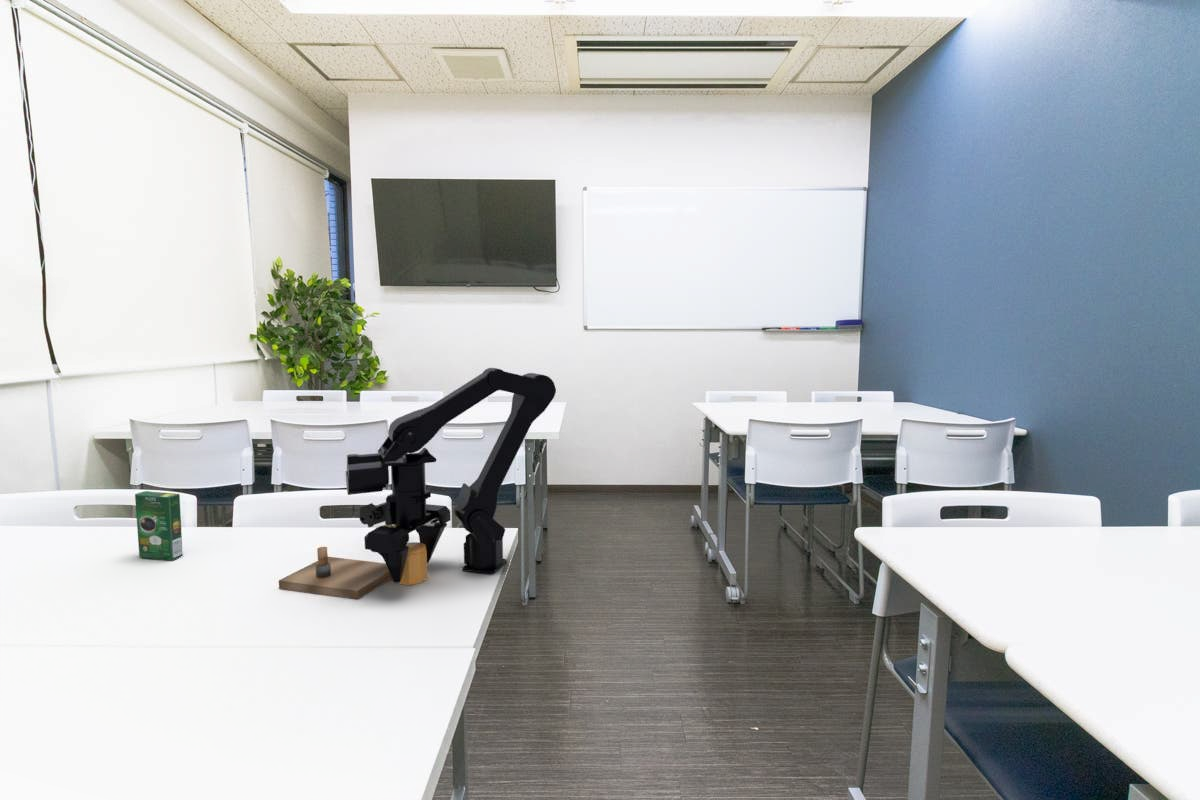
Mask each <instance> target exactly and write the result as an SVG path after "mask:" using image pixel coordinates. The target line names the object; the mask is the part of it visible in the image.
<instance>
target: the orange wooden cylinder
mask: <svg viewBox="0 0 1200 800" xmlns="http://www.w3.org/2000/svg"><path fill="white" fill-rule="evenodd" d="M406 546H409V549H408V554H407V558H406V562H405V566H404V571H403V575H402V578H401V581H400V582H399V583H398V584H399V585H405V586H411V585H412V586H413V585H417V584H423V582H425V581H426V580H428V564H427V550H426V545H425V544H423V543H420V541H419V542H417V541H416V542H414V541H413V542H407V544H406Z"/></svg>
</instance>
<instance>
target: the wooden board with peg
mask: <svg viewBox="0 0 1200 800" xmlns="http://www.w3.org/2000/svg"><path fill="white" fill-rule="evenodd" d="M316 551H317V561H315V562H313V563H311V564H309V565H307V566H305V567H302V568H301V569H299V570H296V571H294V572H292V573H291V574H289V575H287V576H285V577H283V578H281V579H279V580H278V588H279V590H287V591H293V592H300V593H309V594H315V595H321V596H329V597H337V598H343V599H344V598H345V599H353V600H359V599H361V598H362V597H364V596H366V595H367V594H369V593H370V592H372V591H373V590H375V589H376V588H378V587H380V586H381V585H382V584H384V583H386V582H387V581H388V580H390V579H392V576H391V574H390V572H389V569H388V567H387V565H386V563H385V562H379V561H377V562H376V561H368V560H359V559H354V558H353V559H351V558H342V557H336V556H335V557H334V556H328V547H327V546H320V547H318V548H317V550H316Z"/></svg>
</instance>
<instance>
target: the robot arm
mask: <svg viewBox="0 0 1200 800" xmlns="http://www.w3.org/2000/svg"><path fill="white" fill-rule="evenodd" d="M497 391H498V392H499V391H502V392H508V393H511V394H513V395H512V400H511V401H512V402H511V410H510V413H509V416H508V418H507V420H506V422H505V423H504V426H503V427H502V429H501V431H500V433H499V435H498V437H497V440H496V441H495V444H494V445H493V448H492V449H491V451H490V453H489V456H488V457H487V459H486V461H485V463H484V466H483V467H482V469H481V472H480V473H479V475H478V477H477V479H476V480H475V481H473V483H471V485H468V484H466V483H462V485H461V487H460V491H459V494H458V495H457V497H456V498H455V499H454V500H453V503H454V504H455V505H454V507H453V508H454V510H453V512H454V516H455V519H456V520H457V521H458V523H459V524H460V525H461V526H462V527H463V529H464V530H465V531H467V532H468V534H466V535H465V542H464V543H463V563H464V564H465V565H463V566H462V567H461V571H465V572H472V573H473V572H474V573H481V574H483V573H484V574H489V575H490V574H495V573H496V572H497V571H498V570H499V569H501V567H503V566H505V564H507V563H508V562H507V561H508V560H507V559H506V558H504V548H503V547H504V543H503V541H504V540H503V539H504V536H505V533H506V529H505V527H504V526H503V525H501V524H500V523H499V522H498V520H497V519H496V518H494V516H495V514H496V510H497V507H498V500H499V499H498V498H499V491H500V488H501V487H502V484H503V482H504V480H505V479H506V476H507V474H508V472H509V470H510V468H511V466H512V464H513V462H514V460H515V458H516V456H517V454H518V452H519V450H520V449H521V448H520V447H522V444H523V442H524V440H525V438H526V436H527V434H528V432H529V430H530V427H531V425H532V424H533V423H534V421H535V420H537V418H539V417H540V416H541V415H542V414H543V413H544V412H545V411H546V409H547V408H548V407H549V406H550V404H551V402H552V401H553V400H554V398H555V396H556V393H557V392H556V391H557V389H556V386H555V382H554V380H553V379H552V378H551V377H550V376H548V375H545V374H540V373H534V372H530V373H529V372H528V373H525V374H522V375H521V374H517V373H512V372H509V371H504V370H503V369H501V368H497V367H487V368H485V370H483V371H482V373H480V374H478V375H477V376H475V377H474V378H472V379H471V380H469V381H468V382H466V383H464V384H462V385H461V386H459V387H458V388H456V389H454V391H452V392H450V393H449V394H447V395H445V396H443V397H442V398H441V399H439V400H437V401H436V402H434V403H433V404H431V405H429V406H428V405H427V407H424V408H421V409H417V410H413V411H411V412H409V413H407V414H404V415H402V416H399V417H397V418H395V419H394V420H393V421H392V422H391V423H390V424H389V427H388V431H387V433H388V436H386V437H387V438H386V439H385V440H384V442H383V443H382V445H380V447H379V449H378V450H377V452H376V453H367V454H366V453H365V454H358V453H353V454H352V453H351V454H347V455H346V471H345V482H346V483H345V485H346V493H347V496H349V495H358V494H359V495H360V494H368V493H378V492H383V490H384V488H387V486H389V484H390V474H389V473H390V471H389V467H391V490H392V491H391V492H392V493H391V494H388V495H386V497H385V502H382V503H379V504H377V505H375V504H374V503H372V502H371V503H368V504H365V505H363V506H360V507H359V521H360V523H361V524H363V525H367V527H368V528H372V527H374V526H375V525H379V524H381V523H384V525H395V528H392V527H382V526H383V525H380V526H381V527H379V526H378V527H379V528H377V527H376V528H377V529H376V528H374V529H373V530H371V531H369V532H368V533H367V534H366V535H365V536H364V540H363V541H364V550H370V551H371V552H372V553H378V554H379V555H380V556H381V557H382V559H383V561H384V563H386V565H387V567H388V569H389V572H390V574H391V576H392V578H391V579H392V581H393V583H395V584H396V583H398V584H399V582H400V581H401V578H402V575H403V571H404V566H405V562H406V558H407V554H408V549H409V546H406V544H407V543H409V541H408V534H410V533H412V532H413V531H416V532H417V534H418V538H419V543H423V544H425V545H426V550H427V565H428V564H429V563H430V562H431V559H432V556H433V555H434V552H435V550H436V547H437V546H438V543H439V541H440V539H441V536H442V534H443V532H444V530H445V529H446V527H447V526H448V522H450V521H451V509H449V508H448V506H447V505H440V504H439V505H437V504H430V503H429V504H428V503H427V499H429V498H431V494H432V493H431V491H428V490H427V489H426V486H427V485H426V464H427V463H428V464H429V463H436V462H437V458H436V457H435V456H434V455H433V454H431V453H430V452H429V450H428V449H427V448H426V447H425V446H426V445H427V444H428V443H429V442H430V441H431V440H432V439H433V438H434V437H435V436H436V435H437V434H438V432H439V431H440V430H441V429H443V427H445V425H446V424H448V423H449V422H451V421H452V420H454V419H456V418H457V417H459V416H460V415H461V414H463V413H465V412H467V411H468V410H469V409H471V408H472V407H474V406H475V405H477V404H479V403H480V402H482V401H483V400H485V399H487V397H489V396H492V394H494V393H496V392H497ZM418 451H419V452H418Z"/></svg>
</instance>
